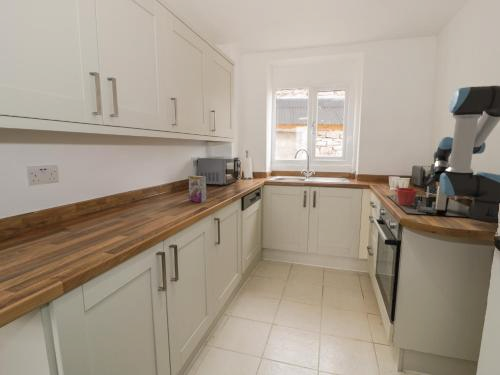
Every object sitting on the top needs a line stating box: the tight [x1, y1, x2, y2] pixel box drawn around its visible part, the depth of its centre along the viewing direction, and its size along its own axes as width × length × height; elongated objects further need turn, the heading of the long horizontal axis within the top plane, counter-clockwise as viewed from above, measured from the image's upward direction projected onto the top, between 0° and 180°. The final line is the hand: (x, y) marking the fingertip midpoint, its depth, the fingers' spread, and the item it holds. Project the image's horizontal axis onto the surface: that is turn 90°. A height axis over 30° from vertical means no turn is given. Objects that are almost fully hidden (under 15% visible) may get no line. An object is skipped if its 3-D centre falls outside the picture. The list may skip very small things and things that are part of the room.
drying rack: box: [415, 200, 437, 214], centre depth 151 cm, size 9×8×5 cm
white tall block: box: [435, 185, 448, 211], centre depth 156 cm, size 4×6×13 cm, turn 151°
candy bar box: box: [188, 174, 207, 204], centre depth 173 cm, size 11×5×16 cm, turn 58°
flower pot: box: [396, 187, 418, 207], centre depth 168 cm, size 11×11×10 cm
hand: (441, 197), depth 156 cm, fingers open, 13 cm apart
